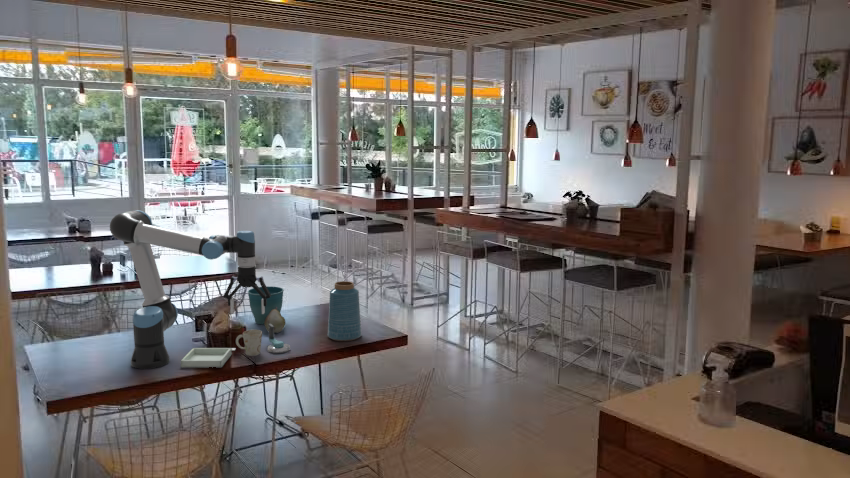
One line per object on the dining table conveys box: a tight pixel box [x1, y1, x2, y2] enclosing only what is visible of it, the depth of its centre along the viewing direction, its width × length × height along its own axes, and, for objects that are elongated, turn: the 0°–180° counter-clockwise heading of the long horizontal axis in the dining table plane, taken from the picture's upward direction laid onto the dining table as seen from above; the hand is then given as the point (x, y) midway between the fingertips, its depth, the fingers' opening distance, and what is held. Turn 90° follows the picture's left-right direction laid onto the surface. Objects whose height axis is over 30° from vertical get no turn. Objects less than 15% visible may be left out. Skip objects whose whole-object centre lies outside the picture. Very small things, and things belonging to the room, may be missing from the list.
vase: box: [327, 280, 362, 342], centre depth 320 cm, size 16×16×27 cm
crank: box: [268, 324, 285, 348], centre depth 305 cm, size 15×4×8 cm, turn 32°
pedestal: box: [267, 343, 291, 354], centre depth 302 cm, size 10×10×2 cm
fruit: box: [264, 307, 286, 334], centre depth 328 cm, size 10×9×12 cm
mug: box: [235, 329, 263, 357], centre depth 296 cm, size 8×13×10 cm, turn 78°
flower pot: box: [247, 285, 284, 326], centre depth 345 cm, size 18×18×17 cm
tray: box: [180, 347, 233, 369], centre depth 286 cm, size 17×17×3 cm
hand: (247, 313), depth 294 cm, fingers open, 13 cm apart
